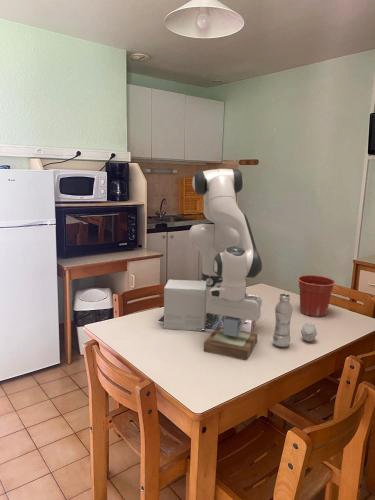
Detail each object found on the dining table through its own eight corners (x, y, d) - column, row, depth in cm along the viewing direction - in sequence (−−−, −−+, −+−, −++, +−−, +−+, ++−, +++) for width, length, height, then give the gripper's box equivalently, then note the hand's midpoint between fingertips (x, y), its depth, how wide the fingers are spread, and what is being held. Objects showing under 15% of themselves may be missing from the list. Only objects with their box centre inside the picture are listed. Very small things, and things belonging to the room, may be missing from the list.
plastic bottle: (268, 344, 144) (272, 294, 140) (279, 340, 149) (283, 291, 145) (282, 351, 139) (286, 299, 135) (293, 346, 144) (297, 295, 140)
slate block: (227, 329, 144) (228, 314, 143) (240, 331, 143) (240, 316, 141) (223, 334, 140) (223, 319, 139) (236, 336, 138) (237, 321, 137)
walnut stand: (217, 334, 153) (218, 325, 152) (257, 342, 147) (257, 332, 146) (203, 351, 138) (204, 340, 137) (246, 360, 132) (247, 349, 131)
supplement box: (206, 319, 168) (207, 280, 164) (204, 331, 155) (205, 289, 151) (167, 317, 170) (168, 278, 166) (163, 329, 157) (163, 287, 153)
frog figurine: (316, 338, 151) (318, 322, 149) (315, 345, 144) (317, 328, 143) (301, 335, 153) (302, 319, 152) (299, 342, 147) (300, 325, 145)
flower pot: (327, 322, 168) (331, 287, 165) (290, 314, 176) (293, 281, 173) (334, 311, 182) (338, 278, 178) (300, 304, 190) (303, 273, 187)
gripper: (263, 293, 137) (261, 329, 140) (210, 286, 145) (209, 320, 148) (260, 298, 131) (257, 335, 134) (204, 290, 139) (203, 325, 142)
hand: (232, 327), depth 141 cm, fingers closed on slate block, 5 cm apart
